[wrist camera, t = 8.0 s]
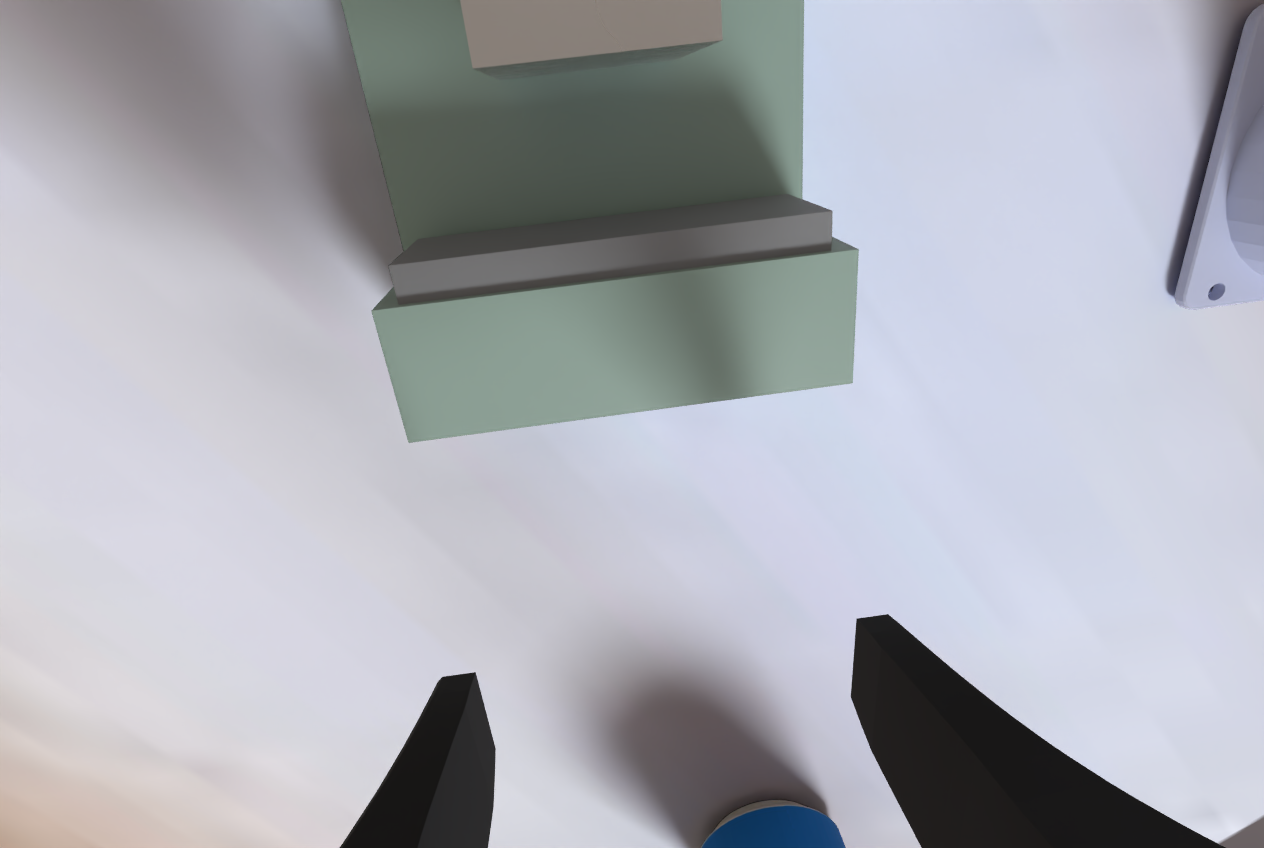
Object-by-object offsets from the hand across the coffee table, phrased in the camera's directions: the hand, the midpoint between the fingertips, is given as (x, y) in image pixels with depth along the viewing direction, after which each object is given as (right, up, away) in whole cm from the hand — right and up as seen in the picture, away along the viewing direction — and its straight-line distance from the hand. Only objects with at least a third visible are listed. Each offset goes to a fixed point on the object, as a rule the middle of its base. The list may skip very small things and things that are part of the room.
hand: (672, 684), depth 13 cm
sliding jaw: (-1, +8, +5) cm, 10 cm away
